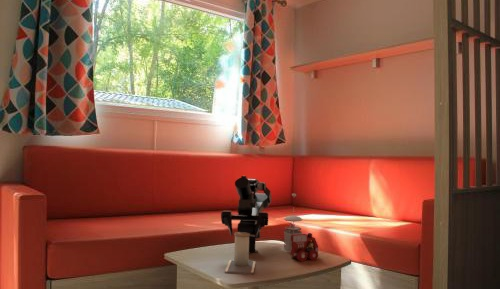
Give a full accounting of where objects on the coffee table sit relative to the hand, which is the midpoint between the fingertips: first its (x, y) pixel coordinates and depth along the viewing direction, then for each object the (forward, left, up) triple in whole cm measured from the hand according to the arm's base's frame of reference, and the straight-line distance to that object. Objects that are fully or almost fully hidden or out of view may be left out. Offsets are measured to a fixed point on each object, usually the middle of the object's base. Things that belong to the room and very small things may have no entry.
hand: (243, 236), depth 166 cm
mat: (+6, -4, -10) cm, 13 cm away
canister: (+4, -3, -10) cm, 11 cm away
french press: (-11, +29, -10) cm, 33 cm away
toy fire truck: (+3, +26, -10) cm, 28 cm away
